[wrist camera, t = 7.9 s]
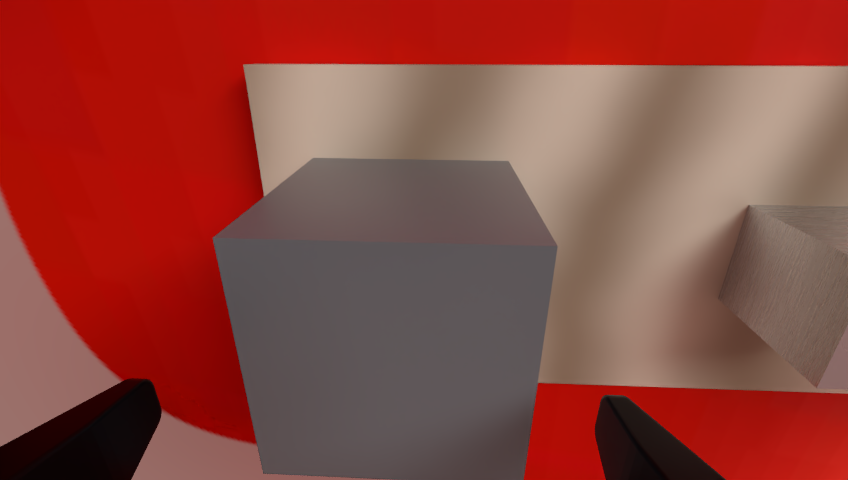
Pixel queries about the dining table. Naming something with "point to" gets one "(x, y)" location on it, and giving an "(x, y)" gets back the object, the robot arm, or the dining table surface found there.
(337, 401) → the gray matte cube
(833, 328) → the grey cube
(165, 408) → the dining table surface
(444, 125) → the board
